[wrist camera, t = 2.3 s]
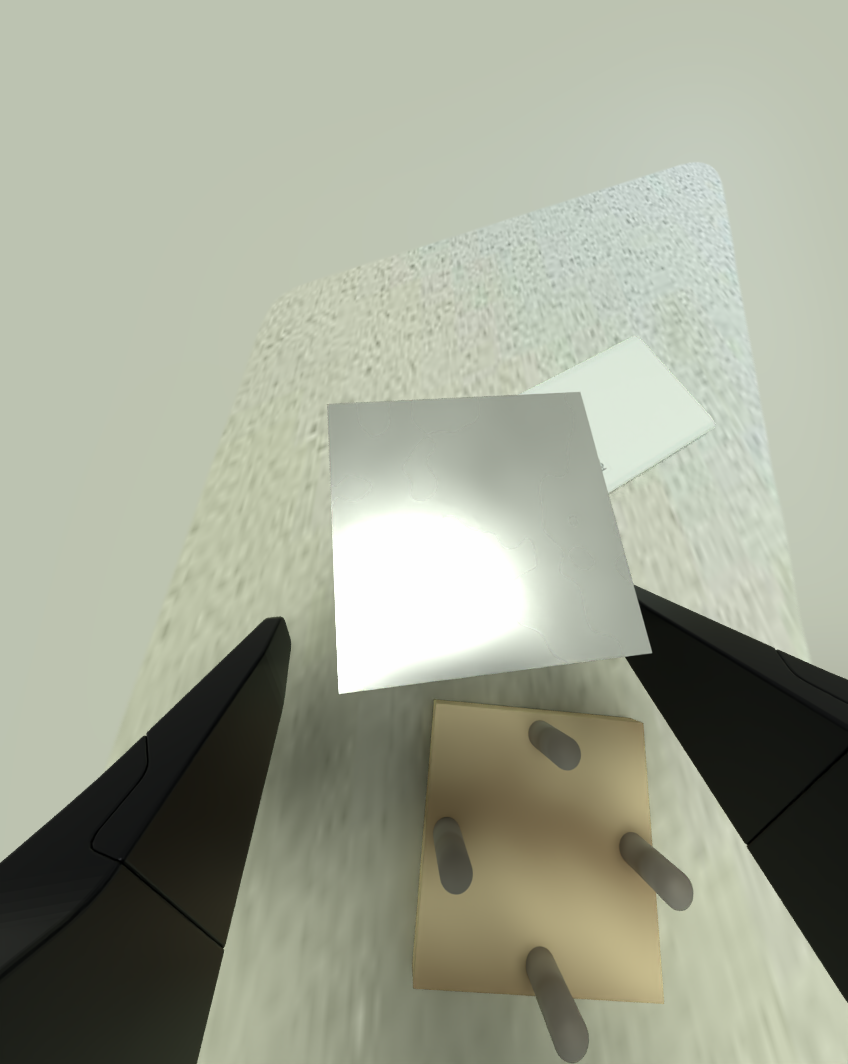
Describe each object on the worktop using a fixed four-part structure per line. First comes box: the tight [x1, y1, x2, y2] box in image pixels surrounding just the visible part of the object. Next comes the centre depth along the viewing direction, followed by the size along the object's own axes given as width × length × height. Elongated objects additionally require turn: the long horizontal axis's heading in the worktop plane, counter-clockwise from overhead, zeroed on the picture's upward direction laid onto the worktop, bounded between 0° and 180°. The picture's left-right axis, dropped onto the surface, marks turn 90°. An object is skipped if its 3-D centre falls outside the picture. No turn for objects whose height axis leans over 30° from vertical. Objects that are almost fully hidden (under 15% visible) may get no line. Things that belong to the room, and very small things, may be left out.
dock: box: [412, 699, 693, 1063], centre depth 14 cm, size 10×10×4 cm
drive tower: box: [327, 392, 652, 694], centre depth 12 cm, size 5×5×13 cm
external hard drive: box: [519, 336, 715, 494], centre depth 22 cm, size 2×8×12 cm
